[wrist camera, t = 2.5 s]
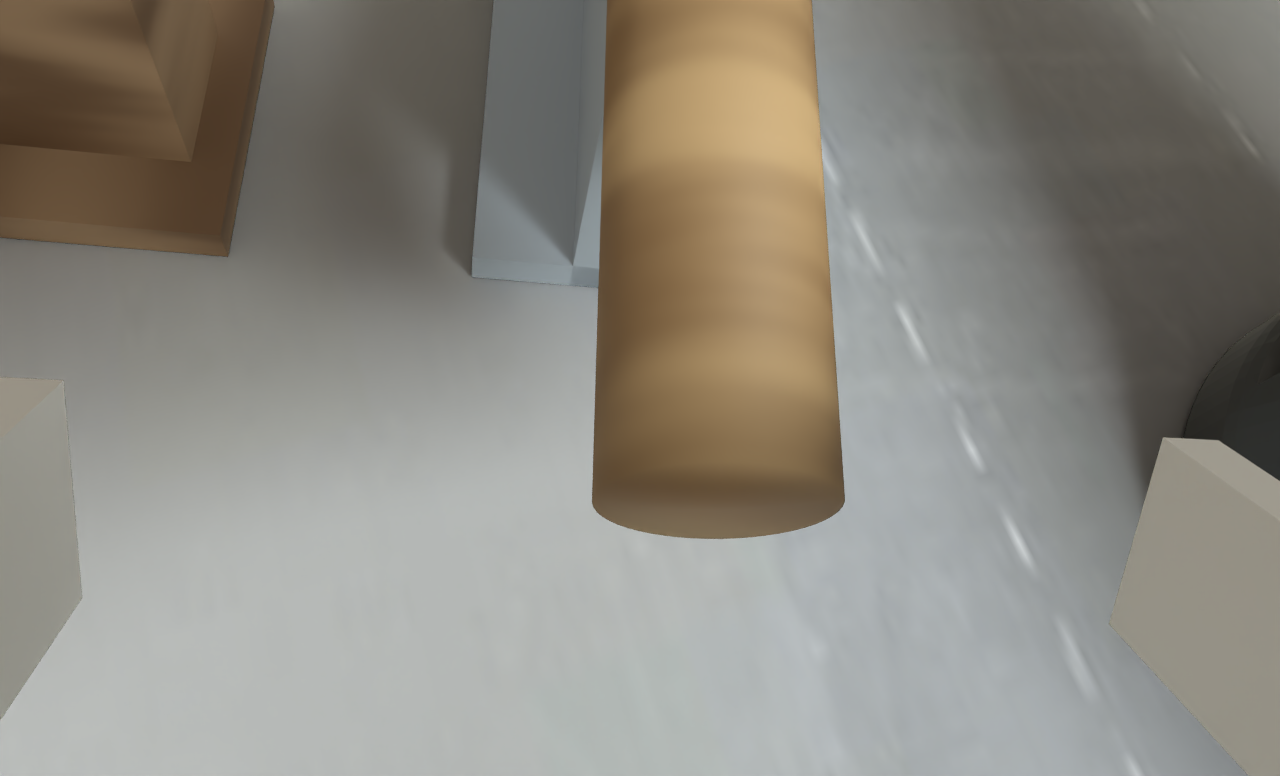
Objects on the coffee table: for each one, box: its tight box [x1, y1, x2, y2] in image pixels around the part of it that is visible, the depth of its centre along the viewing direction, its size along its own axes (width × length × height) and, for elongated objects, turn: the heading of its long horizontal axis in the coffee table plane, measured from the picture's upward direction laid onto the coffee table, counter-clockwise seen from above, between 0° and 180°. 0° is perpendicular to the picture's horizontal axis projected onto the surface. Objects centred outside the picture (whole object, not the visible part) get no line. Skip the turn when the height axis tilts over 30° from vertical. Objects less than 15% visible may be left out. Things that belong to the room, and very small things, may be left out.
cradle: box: [472, 0, 607, 288], centre depth 27 cm, size 8×11×9 cm
